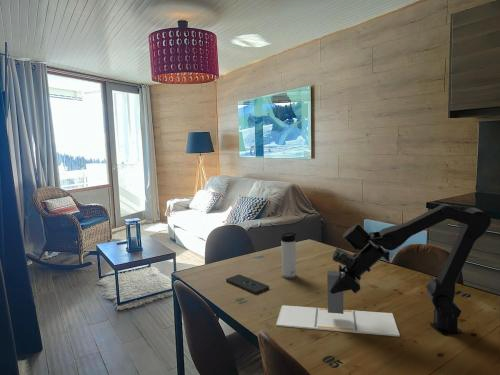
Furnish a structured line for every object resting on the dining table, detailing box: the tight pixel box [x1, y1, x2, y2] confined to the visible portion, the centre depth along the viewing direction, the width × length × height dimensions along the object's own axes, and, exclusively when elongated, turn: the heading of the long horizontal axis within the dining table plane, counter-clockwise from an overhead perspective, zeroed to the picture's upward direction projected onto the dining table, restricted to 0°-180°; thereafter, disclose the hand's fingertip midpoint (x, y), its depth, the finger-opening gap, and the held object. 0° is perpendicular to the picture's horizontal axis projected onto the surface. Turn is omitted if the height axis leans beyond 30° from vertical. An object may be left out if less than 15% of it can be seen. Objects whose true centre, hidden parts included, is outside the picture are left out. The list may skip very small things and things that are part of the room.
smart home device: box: [225, 274, 270, 295], centre depth 149 cm, size 8×2×20 cm
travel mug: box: [280, 232, 297, 279], centre depth 156 cm, size 6×7×20 cm
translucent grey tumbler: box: [326, 270, 344, 314], centre depth 116 cm, size 5×4×13 cm
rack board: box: [275, 305, 401, 337], centre depth 117 cm, size 38×14×1 cm, turn 77°
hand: (331, 289), depth 116 cm, fingers closed on translucent grey tumbler, 4 cm apart
